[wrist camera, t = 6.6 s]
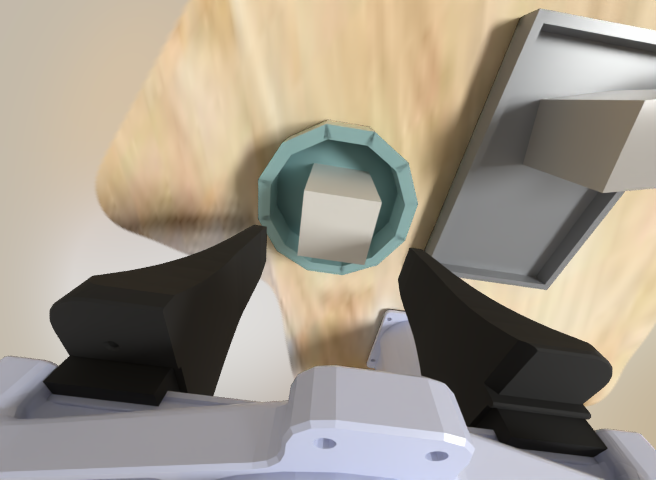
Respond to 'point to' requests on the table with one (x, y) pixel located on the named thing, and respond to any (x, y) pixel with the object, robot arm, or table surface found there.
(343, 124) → the bowl
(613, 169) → the light gray rectangular block
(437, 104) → the table surface
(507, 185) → the tray
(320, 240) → the beige rectangular block
